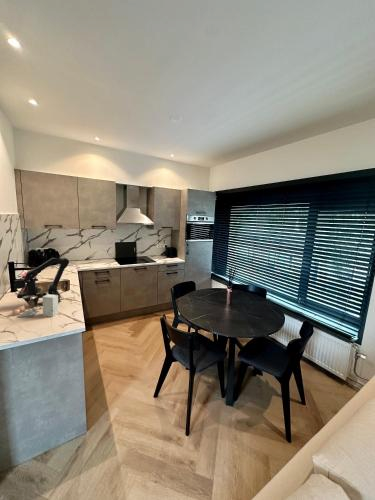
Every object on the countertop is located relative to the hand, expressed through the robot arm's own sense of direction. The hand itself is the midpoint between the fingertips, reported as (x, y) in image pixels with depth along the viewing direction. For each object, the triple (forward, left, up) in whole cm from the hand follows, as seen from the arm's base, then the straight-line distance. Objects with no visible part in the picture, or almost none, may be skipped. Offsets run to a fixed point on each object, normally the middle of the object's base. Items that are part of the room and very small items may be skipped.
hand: (33, 305), depth 167 cm
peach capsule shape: (+4, +14, -1) cm, 14 cm away
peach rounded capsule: (+4, +9, -1) cm, 9 cm away
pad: (-4, +14, -1) cm, 15 cm away
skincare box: (-21, +15, -1) cm, 26 cm away
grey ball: (-5, +8, -1) cm, 9 cm away
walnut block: (0, 0, -1) cm, 1 cm away
